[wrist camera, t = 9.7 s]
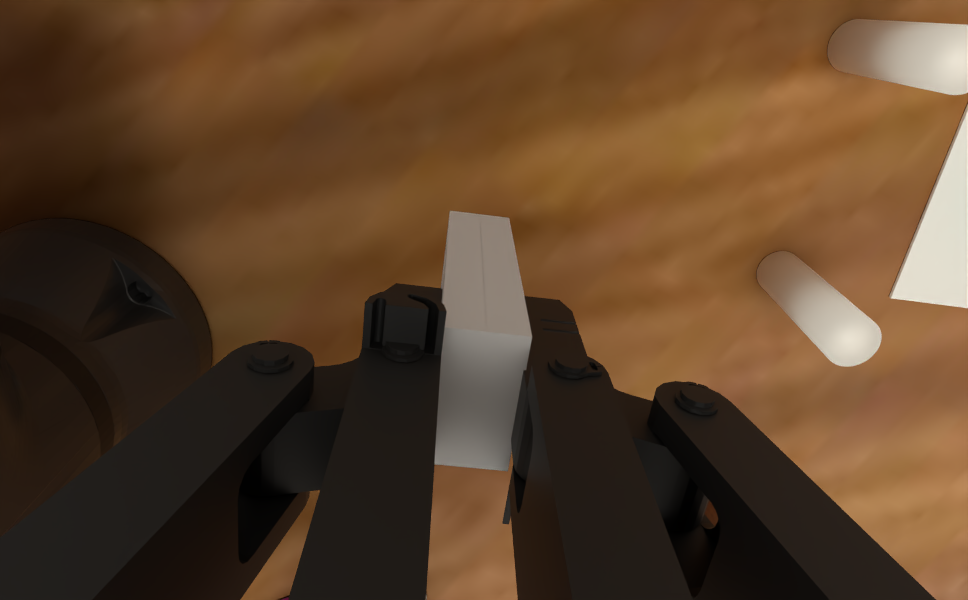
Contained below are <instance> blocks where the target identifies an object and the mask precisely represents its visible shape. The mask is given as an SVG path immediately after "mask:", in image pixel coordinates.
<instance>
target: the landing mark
mask: <svg viewBox="0 0 968 600" xmlns="http://www.w3.org/2000/svg"><path fill="white" fill-rule="evenodd" d="M889 297H890V298H893V299H901V300H909V301H916V302H924V303H932V304H940V305H948V306H956V307H964V308H968V104H967V107H966V109H965V112H964V114H963V116H962V119H961V121H960V124H959V126H958V129H957V131H956V134H955V136H954V139H953V141H952V143H951V146H950V148H949V151H948V153H947V156H946V158H945V161H944V163H943V165H942V168H941V170H940V173H939V175H938V178H937V180H936V183H935V185H934V188H933V190H932V192H931V195H930V197H929V200H928V202H927V205H926V207H925V210H924V212H923V215H922V217H921V219H920V222H919V224H918V227H917V229H916V232H915V234H914V237H913V239H912V241H911V244H910V246H909V249H908V251H907V254H906V256H905V259H904V261H903V264H902V266H901V268H900V271H899V273H898V276H897V278H896V281H895V283H894V286H893V288H892V291H891V293H890V295H889Z"/></svg>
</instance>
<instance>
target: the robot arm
mask: <svg viewBox="0 0 968 600" xmlns="http://www.w3.org/2000/svg"><path fill="white" fill-rule="evenodd" d="M211 361H212V346H211V338H210V332H209V328H208V325H207V322H206V319H205V316H204V314H203V311H202V309H201V307H200V305H199V303H198V301H197V299H196V298H195V296H194V294H193V293H192V291H191V290H190V288H189V287H188V285H187V284H186V283H185V282H184V280H183V279H182V278H181V277H180V275H179V274H178V273H177V272H176V271H175V270H174V269H173V268H172V267H171V266H170V265H169V264H168V263H167V262H166V261H165V260H163V259H162V258H161V257H160V256H159V255H157V254H156V253H155V252H153V251H152V250H151V249H149V248H148V247H146V246H145V245H143V244H142V243H140V242H138V241H137V240H135V239H133V238H131V237H129V236H127V235H125V234H123V233H121V232H119V231H116V230H114V229H111V228H108V227H106V226H102V225H99V224H96V223H92V222H87V221H82V220H76V219H64V218H52V219H41V220H34V221H30V222H26V223H22V224H19V225H17V226H14V227H11V228H9V229H7V230H5V231H3V232H1V233H0V600H240V599H241V598H242V596H243V595H244V593H245V592H246V591H247V589H248V588H249V586H250V585H251V583H252V582H253V581H254V579H255V578H256V576H257V575H258V573H259V572H260V570H261V569H262V568H263V566H264V565H265V563H266V562H267V560H268V559H269V557H270V556H271V555H272V553H273V552H274V550H275V549H276V547H277V546H278V545H279V543H280V542H281V540H282V539H283V537H284V536H285V534H286V533H287V532H288V530H289V529H290V527H291V526H292V524H293V523H294V522H295V520H296V519H297V517H298V516H299V514H300V513H301V511H302V510H303V509H304V507H305V506H306V503H307V501H308V498H309V493H310V491H314V490H320V493H319V497H318V500H317V503H316V507H315V510H314V514H313V517H312V521H311V524H310V527H309V531H308V534H307V538H306V541H305V544H304V548H303V551H302V555H301V558H300V562H299V565H298V568H297V572H296V575H295V579H294V582H293V586H292V589H291V592H290V596H289V599H288V600H426V587H427V571H428V556H429V540H430V524H431V509H432V493H433V477H434V464H437V465H448V466H458V467H469V468H480V469H491V470H501V471H508V467H509V461H510V456H511V450H512V456H513V469H512V474H511V480H510V485H509V490H508V496H507V501H506V507H505V512H504V517H503V523H502V524H509V521H510V517H511V522H512V534H513V546H514V558H515V570H516V583H517V595H518V600H936V599H935V598H934V597H933V596H931V595H930V594H929V593H928V592H927V591H926V590H925V589H924V588H923V587H922V586H921V585H920V584H919V583H918V582H917V581H916V580H915V579H914V578H913V577H912V576H911V575H910V574H909V573H908V572H907V571H906V570H905V569H903V568H902V567H901V566H900V565H899V564H898V563H897V562H896V561H895V560H894V559H893V558H892V557H891V556H890V555H889V554H888V553H887V552H886V551H885V550H884V549H883V548H882V547H881V546H880V545H879V544H878V543H877V542H875V541H874V540H873V539H872V538H871V537H870V536H869V535H868V534H867V533H866V532H865V531H864V530H863V529H862V528H861V527H860V526H859V525H858V524H857V523H856V522H855V521H854V520H853V519H852V518H851V517H850V516H849V515H847V514H846V513H845V512H844V511H843V510H842V509H841V508H840V507H839V506H838V505H837V504H836V503H835V502H834V501H833V500H832V499H831V498H830V497H829V496H828V495H827V494H826V493H825V492H824V491H823V490H822V489H821V488H820V487H818V486H817V485H816V484H815V483H814V482H813V481H812V480H811V479H810V478H809V477H808V476H807V475H806V474H805V473H804V472H803V471H802V470H801V469H800V468H799V467H798V466H797V465H796V464H795V463H794V462H793V461H792V460H790V459H789V458H788V457H787V456H786V455H785V454H784V453H783V452H782V451H781V450H780V449H779V448H778V447H777V446H776V445H775V444H774V443H773V442H772V441H771V440H770V439H769V438H768V437H767V436H766V435H765V434H764V433H762V432H761V431H760V430H759V429H758V428H757V427H756V426H755V425H754V424H753V423H752V422H751V421H750V420H749V419H748V418H747V417H746V416H745V415H744V414H743V413H742V412H741V411H740V410H739V409H738V408H737V407H736V406H734V405H733V404H732V403H731V402H730V401H729V400H728V399H726V398H725V397H724V396H722V395H721V394H719V393H717V392H715V391H713V390H711V389H709V388H708V387H706V386H704V385H701V384H698V385H697V384H696V383H693V382H677V381H674V382H668V383H663V384H662V385H660V386H659V387H657V388H656V392H655V395H654V399H653V401H650V400H647V399H643V398H640V397H636V396H633V395H629V394H626V393H624V392H621V391H618V390H616V389H614V387H613V385H612V382H611V379H610V377H609V374H608V372H607V371H606V369H605V368H604V367H603V365H601V364H600V363H598V362H597V361H595V360H594V359H592V358H590V357H587V354H586V351H585V348H584V345H583V342H582V339H581V337H580V334H579V331H578V328H577V325H576V322H575V319H574V316H573V313H572V311H571V310H570V309H569V308H568V307H567V306H565V305H564V304H563V303H562V302H561V301H560V300H554V299H545V298H537V297H528V296H524V292H523V287H522V282H521V277H520V272H519V267H518V261H517V256H516V251H515V246H514V241H513V236H512V231H511V226H510V220H509V218H506V217H498V216H490V215H481V214H473V213H465V212H457V211H450V214H449V223H448V231H447V240H446V248H445V257H444V265H443V274H442V282H441V288H433V287H424V286H415V285H406V284H397V283H396V284H395V285H393V286H392V287H390V288H389V289H387V290H386V291H384V292H380V293H378V294H375V295H373V296H370V297H369V299H368V300H367V301H366V302H365V311H364V326H363V340H362V349H361V353H360V356H359V358H357V359H355V360H353V361H350V362H347V363H343V364H339V365H332V366H321V367H314V360H313V356H312V354H311V353H310V352H308V351H307V350H306V349H305V348H303V347H300V346H297V345H295V344H292V343H286V342H280V341H275V340H269V341H259V342H256V343H252V344H248V345H244V346H242V347H240V348H238V349H236V350H234V351H232V352H231V353H230V354H228V355H227V356H226V357H225V358H223V359H222V360H221V361H220V362H218V363H217V364H216V365H215V366H213V367H212V368H211ZM709 501H710V502H711V503H712V505H713V507H714V509H715V510H716V513H717V516H718V522H717V523H716V525H713V524H712V523H711V521H710V520H709V519H708V518H707V516H706V515H705V511H706V508H707V505H708V502H709Z"/></svg>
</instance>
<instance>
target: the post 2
mask: <svg viewBox="0 0 968 600" xmlns="http://www.w3.org/2000/svg"><path fill="white" fill-rule="evenodd" d="M827 55H828V59H829V62H830V63H831V65H832V66H833V67H834V68H835V69H836V70H838V71H841V72H845V73H849V74H854V75H859V76H864V77H868V78H873V79H878V80H883V81H888V82H892V83H897V84H902V85H907V86H911V87H916V88H921V89H926V90H931V91H935V92H940V93H945V94H950V95H961V94H965V93H968V25H960V24H942V23H924V22H906V21H888V20H869V19H854V20H850V21H848V22H845V23H844V24H842V25H841V26H840V27H838V28H837V29H836V31H835V32H834V33H833V35H832V36H831V38H830V41H829V43H828V48H827Z"/></svg>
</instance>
